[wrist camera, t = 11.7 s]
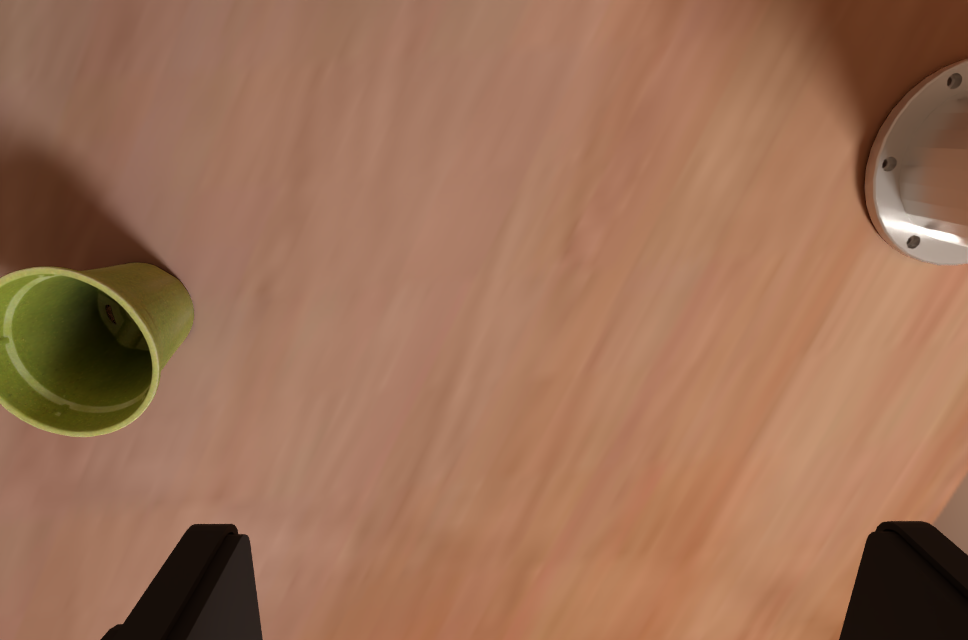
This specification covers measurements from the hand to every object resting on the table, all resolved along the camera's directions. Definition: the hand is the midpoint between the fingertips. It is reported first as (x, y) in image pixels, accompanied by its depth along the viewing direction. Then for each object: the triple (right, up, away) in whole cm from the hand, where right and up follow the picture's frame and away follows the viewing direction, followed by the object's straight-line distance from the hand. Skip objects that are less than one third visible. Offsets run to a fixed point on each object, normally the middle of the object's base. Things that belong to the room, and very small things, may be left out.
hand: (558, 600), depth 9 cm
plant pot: (-23, +5, +30) cm, 38 cm away
